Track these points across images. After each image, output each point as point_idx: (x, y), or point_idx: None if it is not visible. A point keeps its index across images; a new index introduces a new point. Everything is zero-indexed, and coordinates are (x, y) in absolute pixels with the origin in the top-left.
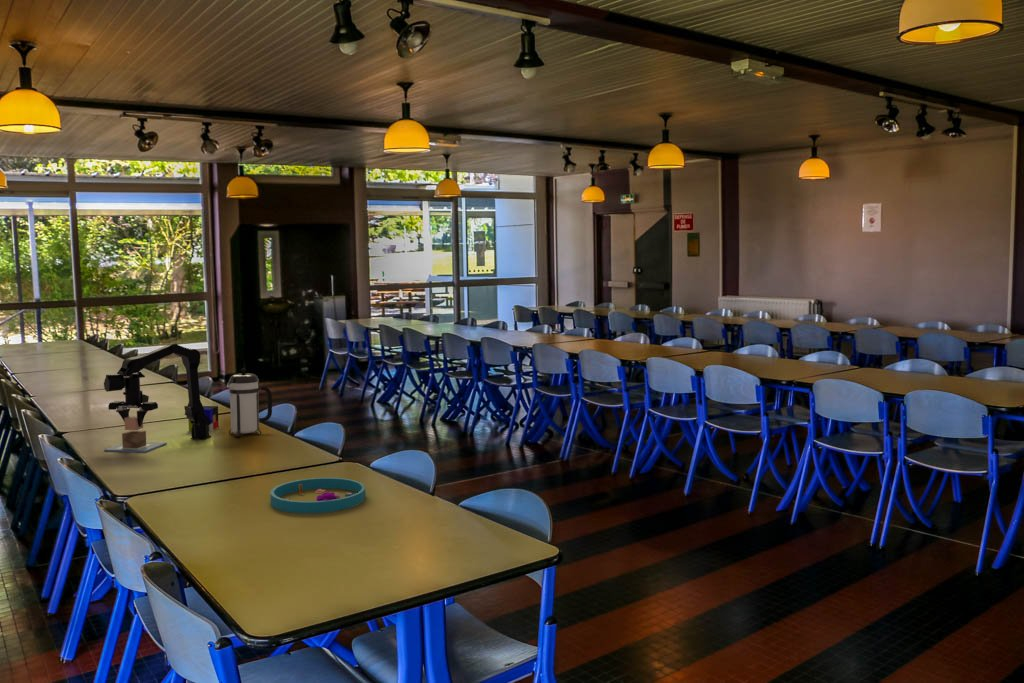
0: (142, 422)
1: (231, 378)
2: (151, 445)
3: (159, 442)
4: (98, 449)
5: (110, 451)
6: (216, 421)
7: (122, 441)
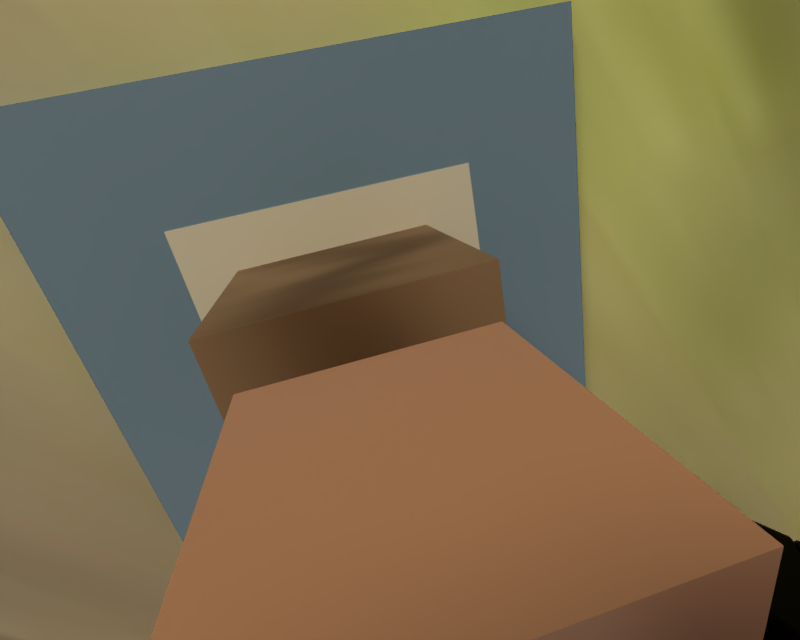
0: (576, 402)
1: None
2: (499, 224)
3: (480, 30)
4: (40, 508)
5: None
6: None
7: None
